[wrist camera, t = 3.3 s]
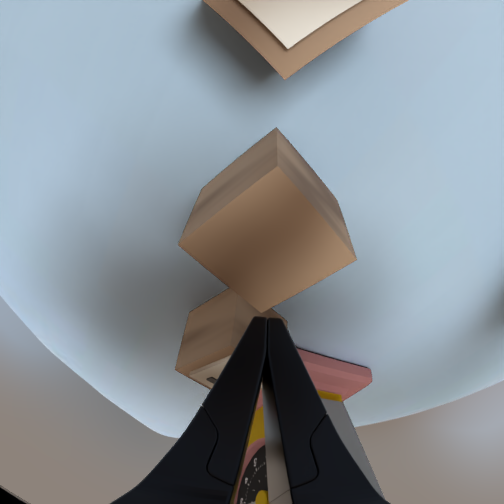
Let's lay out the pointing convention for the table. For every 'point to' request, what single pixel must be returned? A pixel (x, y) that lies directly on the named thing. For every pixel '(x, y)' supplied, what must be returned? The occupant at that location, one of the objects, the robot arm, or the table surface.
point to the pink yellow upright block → (332, 394)
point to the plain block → (268, 225)
